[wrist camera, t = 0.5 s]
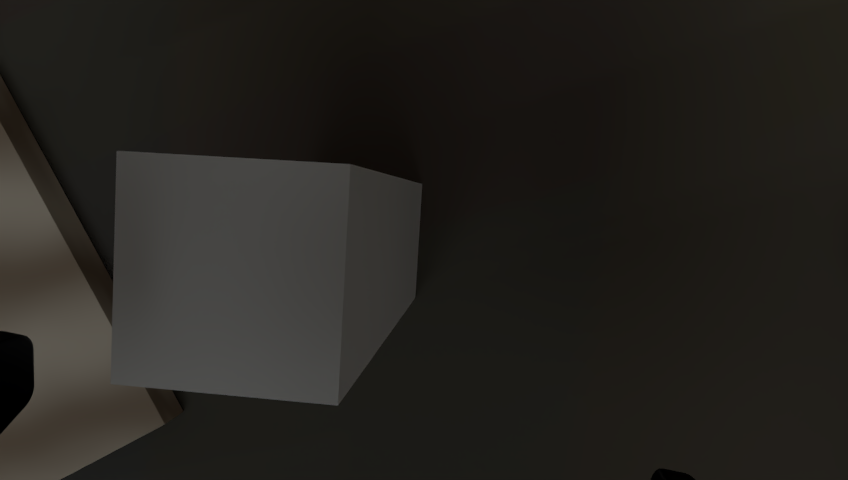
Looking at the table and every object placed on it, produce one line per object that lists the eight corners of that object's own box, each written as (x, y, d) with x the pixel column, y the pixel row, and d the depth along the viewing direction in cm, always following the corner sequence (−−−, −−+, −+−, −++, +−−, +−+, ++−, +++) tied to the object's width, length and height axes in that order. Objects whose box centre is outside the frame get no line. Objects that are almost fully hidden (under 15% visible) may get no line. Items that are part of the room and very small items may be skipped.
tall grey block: (415, 297, 24) (338, 404, 12) (304, 289, 25) (110, 384, 12) (422, 184, 24) (350, 164, 11) (309, 177, 25) (116, 151, 12)
